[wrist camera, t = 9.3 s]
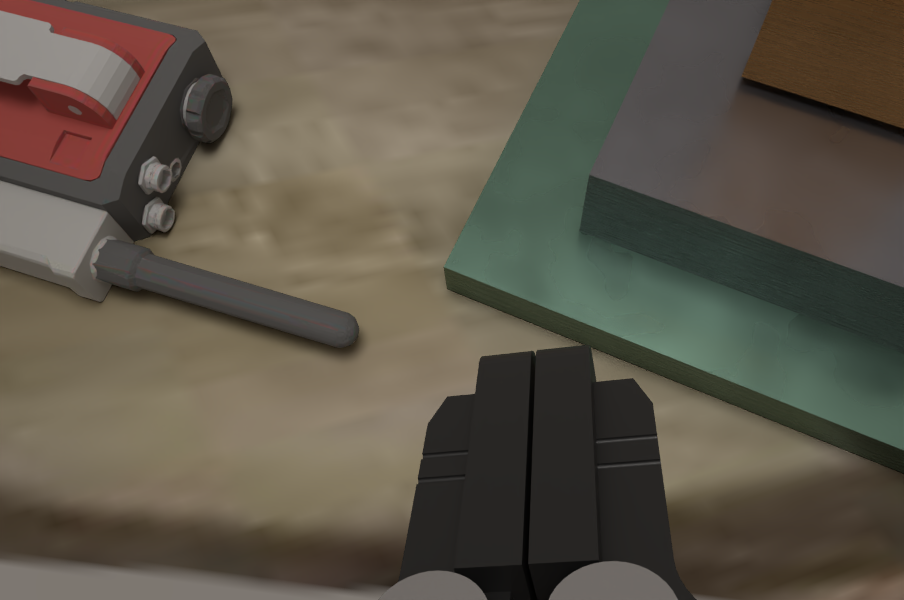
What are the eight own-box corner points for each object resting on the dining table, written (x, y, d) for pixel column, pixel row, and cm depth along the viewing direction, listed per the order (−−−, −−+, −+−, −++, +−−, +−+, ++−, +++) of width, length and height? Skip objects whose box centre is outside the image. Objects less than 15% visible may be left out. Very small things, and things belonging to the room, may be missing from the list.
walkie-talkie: (-216, 208, 28) (351, 385, 24) (-340, 130, 24) (320, 330, 20) (-72, 5, 31) (449, 136, 27) (-159, -95, 27) (439, 44, 23)
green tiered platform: (447, 288, 25) (426, 156, 18) (596, -8, 29) (623, -204, 22) (1019, 520, 21) (1245, 459, 15) (1099, 147, 25) (1305, -30, 19)
